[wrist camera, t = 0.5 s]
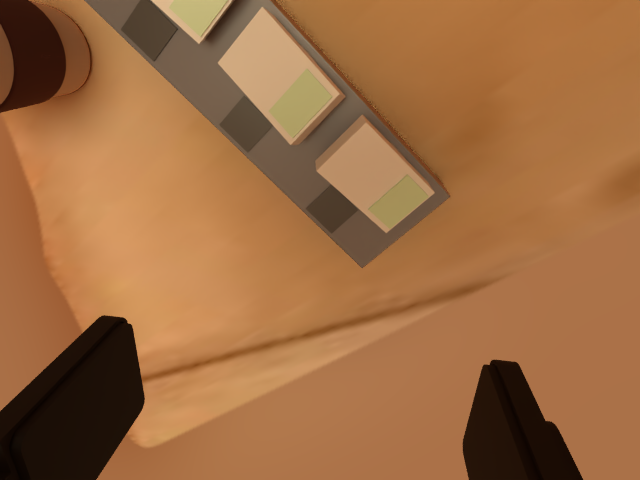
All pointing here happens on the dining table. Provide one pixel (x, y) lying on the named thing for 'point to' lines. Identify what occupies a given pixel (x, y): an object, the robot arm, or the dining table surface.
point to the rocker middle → (280, 77)
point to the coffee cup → (38, 54)
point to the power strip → (255, 129)
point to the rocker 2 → (373, 175)
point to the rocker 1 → (195, 15)
